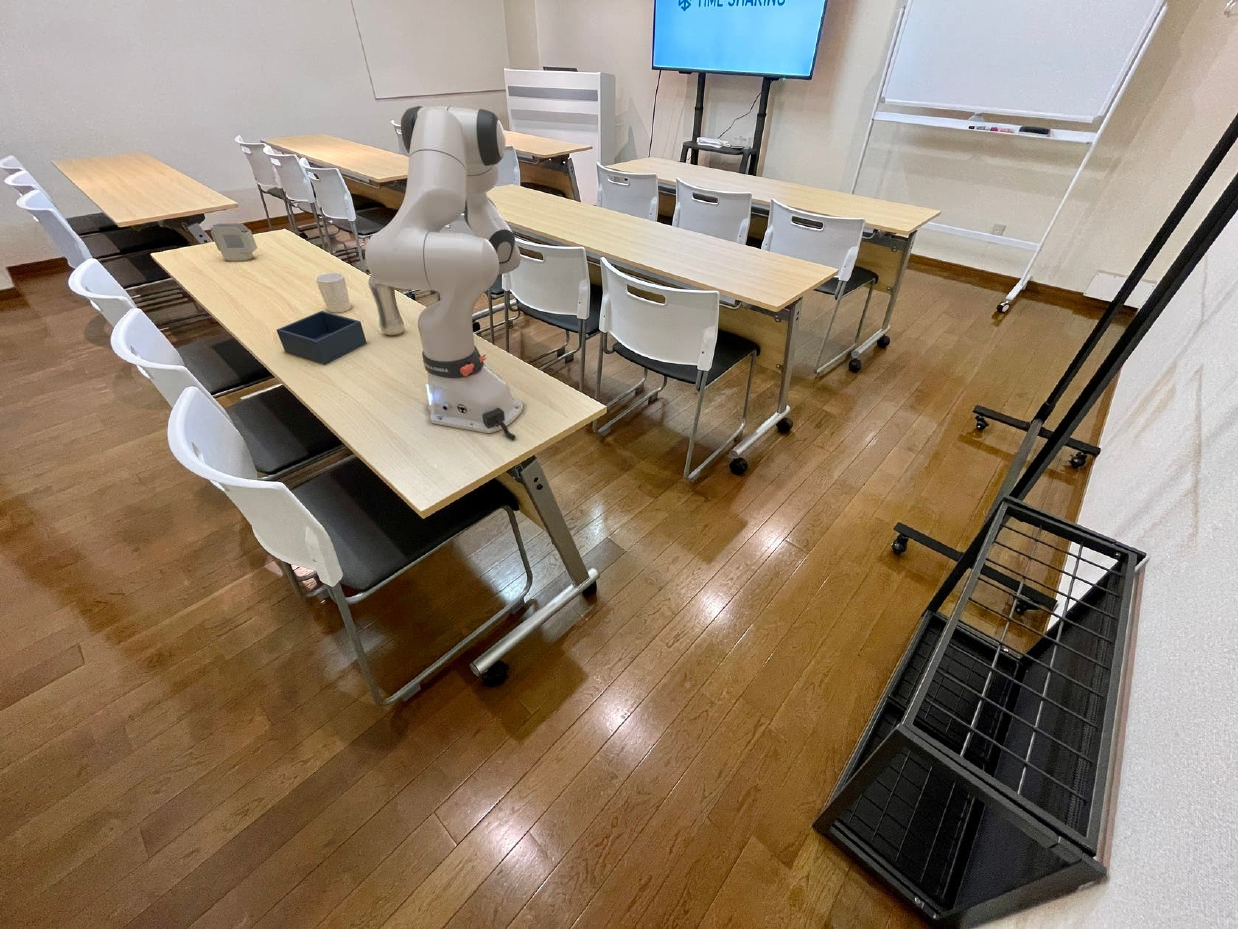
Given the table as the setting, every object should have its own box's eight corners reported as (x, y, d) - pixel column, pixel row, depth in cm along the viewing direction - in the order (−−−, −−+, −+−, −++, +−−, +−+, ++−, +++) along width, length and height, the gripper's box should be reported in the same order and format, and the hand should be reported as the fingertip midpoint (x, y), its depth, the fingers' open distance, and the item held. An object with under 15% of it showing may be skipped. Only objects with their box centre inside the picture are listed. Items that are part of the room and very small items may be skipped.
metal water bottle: (398, 338, 149) (381, 268, 137) (377, 336, 150) (358, 266, 138) (410, 329, 154) (394, 261, 142) (389, 326, 155) (371, 258, 143)
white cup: (346, 301, 168) (337, 270, 162) (357, 309, 164) (348, 277, 158) (321, 307, 164) (311, 276, 158) (331, 315, 160) (321, 283, 153)
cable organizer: (256, 261, 194) (243, 227, 186) (219, 262, 192) (204, 227, 184) (262, 255, 199) (249, 222, 192) (226, 256, 197) (211, 222, 189)
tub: (367, 343, 147) (360, 321, 142) (324, 364, 136) (316, 341, 132) (329, 332, 151) (321, 310, 147) (285, 352, 141) (275, 329, 136)
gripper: (452, 244, 160) (408, 251, 153) (482, 263, 147) (435, 272, 141) (455, 265, 164) (412, 273, 157) (484, 285, 151) (439, 295, 145)
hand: (423, 272), depth 149 cm, fingers open, 8 cm apart
